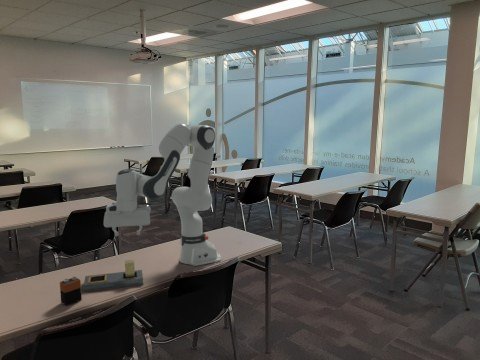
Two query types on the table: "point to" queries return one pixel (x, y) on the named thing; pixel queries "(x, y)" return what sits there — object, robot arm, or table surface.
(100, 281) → the grey socket board
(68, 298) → the battery
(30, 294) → the table surface
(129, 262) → the brass block
